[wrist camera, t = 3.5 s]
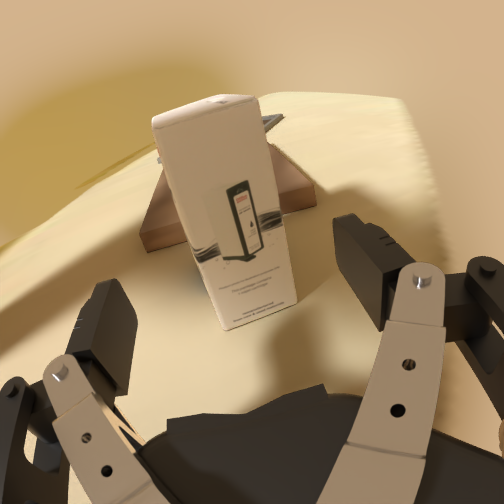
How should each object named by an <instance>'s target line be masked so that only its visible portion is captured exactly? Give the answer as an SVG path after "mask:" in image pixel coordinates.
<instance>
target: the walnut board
mask: <svg viewBox="0 0 504 504" xmlns="http://www.w3.org/2000/svg"><path fill="white" fill-rule="evenodd" d="M267 143H268V142H267ZM268 148H269V152H270V157H271V162H272V166H273V171H274V176H275V181H276V186H277V191H278V196H279V201H280V207H281V212H282V214H286V213H290V212H293V211H297V210H301V209H305V208H309V207H312V206H316V205H317V204H316V198H315V191H314V185H313V184H312V183H311V182H310V181H309V180H308V179H307V178H306V177H305V176H304V175H303V174H302V173H300V172H299V171H298V170H297V169H296V168H295V167H294V166H293V165H292V164H291V163H290V162H289V161H288V160H287V159H286V158H285V157H284V156H282V155H281V154H280V153H279V152H278V151H277V150H276V149H275V148H274V147H273V146H272V145H270V144H269V143H268ZM139 235H140V237H141V240H142V242H143V244H144V246H145V249H146V251H147V252H151V251H154V250H158V249H161V248H164V247H168V246H171V245H175V244H178V243H181V242H185V241H187V238H186V235H185V232H184V229H183V227H182V224H181V221H180V218H179V215H178V212H177V209H176V207H175V204H174V201H173V198H172V195H171V191H170V188H169V185H168V182H167V179H166V176H165V173H164V169H163V171H162V173H161V176H160V178H159V181H158V184H157V186H156V189H155V191H154V194H153V197H152V199H151V202H150V205H149V207H148V210H147V213H146V216H145V218H144V221H143V224H142V227H141V230H140V233H139Z"/></svg>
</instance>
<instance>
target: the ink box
mask: <svg viewBox="0 0 504 504" xmlns="http://www.w3.org/2000/svg"><path fill="white" fill-rule="evenodd" d="M152 132H153V135H154V139H155V142H156V145H157V149H158V153H159V156H160V159H161V163H162V166H163V169H164V173H165V176H166V179H167V182H168V185H169V188H170V191H171V195H172V198H173V201H174V204H175V207H176V209H177V212H178V215H179V218H180V221H181V224H182V227H183V229H184V232H185V235H186V238H187V241H188V243H189V246H190V249H191V251H192V254H193V256H194V259H195V262H196V264H197V267H198V269H199V272H200V274H201V277H202V279H203V282H204V284H205V287H206V289H207V292H208V294H209V297H210V299H211V302H212V304H213V307H214V309H215V311H216V314H217V317H218V319H219V322H220V324H221V326H222V328H223V329H224V330H225V331H227V330H230V329H233V328H235V327H238V326H240V325H243V324H246V323H248V322H251V321H253V320H256V319H259V318H261V317H264V316H267V315H269V314H271V313H274V312H277V311H279V310H281V309H284V308H286V307H289V306H291V305H294V304H296V303H297V294H296V289H295V284H294V278H293V273H292V267H291V261H290V255H289V250H288V244H287V238H286V233H285V228H284V222H283V217H282V212H281V207H280V201H279V196H278V191H277V186H276V181H275V176H274V171H273V166H272V162H271V157H270V152H269V148H268V143H267V139H266V134H265V130H264V125H263V120H262V116H261V111H260V106H259V102H258V100H257V99H256V98H255V96H252V95H230V94H219V95H215V96H212V97H209V98H205V99H203V100H199V101H196V102H193V103H190V104H188V105H185V106H182V107H179V108H176V109H173V110H171V111H168V112H165V113H162V114H160V115H157V116H155V117H153V118H152Z"/></svg>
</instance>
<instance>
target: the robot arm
mask: <svg viewBox="0 0 504 504" xmlns="http://www.w3.org/2000/svg"><path fill="white" fill-rule="evenodd" d="M333 234H334V243H335V254H336V260H337V264H338V267H339V269H340V271H341V273H342V274H343V276H344V277H345V279H346V280H347V282H348V283H349V285H350V287H351V288H352V290H353V291H354V293H355V294H356V296H357V297H358V299H359V300H360V302H361V304H362V305H363V307H364V308H365V310H366V311H367V313H368V315H369V316H370V318H371V319H372V321H373V323H374V324H375V326H376V327H377V329H378V331H379V332H381V331H383V330H384V331H383V335H382V339H381V342H380V346H379V350H378V353H377V356H376V360H375V363H374V366H373V370H372V373H371V376H370V379H369V382H368V385H367V388H366V391H365V394H364V397H362V396H357V395H352V394H340V393H333V394H327V392H326V390H325V387H324V384H320V385H316V386H313V387H310V388H307V389H303V390H300V391H296V392H293V393H289V394H286V395H283V396H281V397H279V398H277V399H275V400H273V401H271V402H269V403H267V404H265V405H263V406H261V407H259V408H257V409H255V410H253V411H250V412H248V413H246V414H206V413H202V414H197V415H191V416H185V417H179V418H172V419H167V431H165V432H163V433H161V434H159V435H157V436H155V437H154V438H152V439H151V440H149V441H148V442H147V443H146V442H145V441H144V440H143V439H142V438H141V436H140V435H139V434H138V433H137V431H136V430H135V429H134V428H133V426H132V425H131V424H130V422H129V421H128V420H127V418H126V417H125V416H124V414H123V413H122V412H121V410H120V409H119V408H118V406H117V405H116V404H115V403H114V401H115V397H117V396H124V395H128V387H129V379H130V371H131V364H132V358H133V351H134V345H135V338H136V332H137V327H138V320H137V315H136V312H135V310H134V308H133V306H132V305H131V303H130V301H129V299H128V297H127V296H126V294H125V292H124V290H123V288H122V286H121V284H120V283H119V281H118V280H117V279H115V278H114V279H110V280H107V281H103V282H100V283H97V284H96V286H95V288H94V291H93V293H92V296H91V298H90V299H88V301H87V302H86V303H85V305H84V306H83V307H82V308H81V310H80V313H79V315H78V318H77V320H78V321H76V323H75V326H74V328H75V329H73V331H72V334H71V337H70V340H69V343H68V346H67V349H66V351H65V354H64V355H61V356H59V357H57V358H55V359H54V360H53V361H51V362H50V363H49V365H48V366H47V367H46V369H45V371H44V374H43V380H40V381H38V382H36V383H34V384H32V385H29V384H28V383H27V382H26V381H25V380H24V379H23V378H22V377H14V378H11V379H10V380H9V381H7V382H6V383H5V384H4V386H3V387H2V389H1V391H0V504H68V485H69V470H70V464H71V466H72V468H73V470H74V472H75V474H76V476H77V478H78V479H79V481H80V483H81V485H82V487H83V488H84V490H85V492H86V494H87V495H88V497H89V499H90V500H91V502H92V504H504V339H503V338H502V337H501V335H500V334H499V333H498V331H497V330H496V329H495V327H494V326H493V325H492V321H494V322H495V323H496V325H497V326H498V327H499V329H500V330H501V331H502V333H503V334H504V265H503V264H502V263H501V262H499V261H498V260H496V259H494V258H491V257H486V256H480V257H475V258H473V259H471V260H470V261H469V262H468V265H467V270H466V273H456V274H445V275H444V273H443V272H442V271H441V269H439V268H438V267H437V266H435V265H432V264H430V263H425V262H416V261H415V260H414V259H413V258H412V257H411V256H410V255H409V254H408V253H407V252H406V251H405V250H404V249H403V248H402V247H401V246H400V245H399V244H398V243H396V241H395V240H394V239H393V238H392V237H390V236H389V234H388V233H387V232H386V231H385V230H383V229H382V228H381V227H379V226H376V225H374V224H372V223H367V224H364V223H363V222H362V221H361V220H360V219H359V218H358V217H357V216H356V215H355V214H353V213H352V214H348V215H344V216H341V217H337V218H334V219H333ZM447 342H455V343H456V345H457V346H458V348H459V349H460V351H461V352H462V354H463V355H464V357H465V359H466V360H467V361H468V363H469V365H470V366H471V368H472V370H473V371H474V373H475V374H476V376H477V378H478V379H479V381H480V383H481V384H482V386H483V388H484V390H485V391H486V393H487V394H488V396H489V398H490V400H491V401H492V403H493V405H494V407H495V409H496V411H497V412H498V414H499V416H500V418H501V420H502V423H501V425H500V428H499V440H500V445H499V446H500V449H501V451H502V457H501V456H499V455H496V454H494V453H491V452H489V451H486V450H483V449H481V448H478V447H476V446H473V445H471V444H468V443H466V442H463V441H461V440H459V439H456V438H454V437H452V436H449V435H447V434H445V433H442V432H440V431H438V430H435V429H433V428H432V425H433V420H434V415H435V410H436V405H437V399H438V393H439V387H440V380H441V373H442V366H443V357H444V348H445V343H447ZM27 429H28V430H29V431H30V432H31V433H32V434H34V435H35V436H36V437H37V441H36V447H35V453H34V460H33V464H32V463H30V462H29V461H28V460H27V459H26V457H25V454H24V444H25V439H26V434H27Z"/></svg>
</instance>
